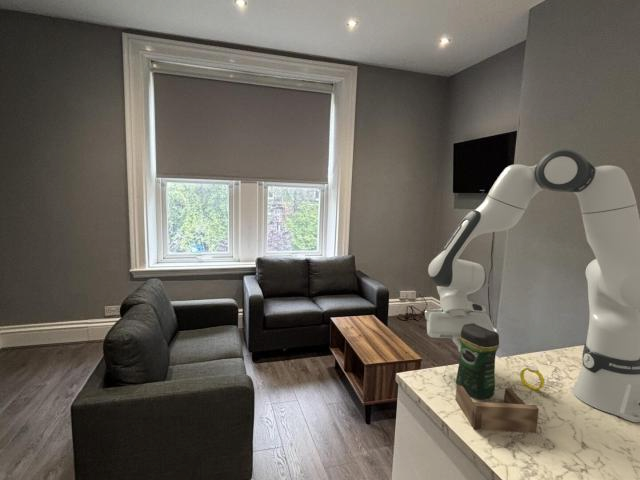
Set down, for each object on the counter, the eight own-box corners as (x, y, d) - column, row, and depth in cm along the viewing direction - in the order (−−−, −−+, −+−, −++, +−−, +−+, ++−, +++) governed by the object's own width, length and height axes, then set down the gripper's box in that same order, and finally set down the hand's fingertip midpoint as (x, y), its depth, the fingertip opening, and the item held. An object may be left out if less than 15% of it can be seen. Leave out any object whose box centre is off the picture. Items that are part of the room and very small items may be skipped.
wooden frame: (509, 402, 90) (511, 381, 90) (536, 432, 79) (539, 408, 78) (455, 399, 91) (457, 378, 90) (473, 429, 79) (476, 405, 78)
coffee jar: (499, 396, 93) (506, 331, 90) (479, 403, 89) (485, 336, 87) (470, 378, 102) (475, 319, 99) (450, 384, 98) (456, 323, 96)
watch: (518, 384, 100) (519, 365, 99) (523, 382, 101) (524, 362, 101) (539, 393, 95) (540, 373, 94) (545, 391, 96) (546, 370, 96)
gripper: (426, 304, 109) (433, 346, 101) (490, 306, 109) (502, 349, 100) (421, 312, 114) (427, 353, 106) (482, 315, 114) (493, 356, 105)
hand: (464, 351), depth 103 cm, fingers closed
